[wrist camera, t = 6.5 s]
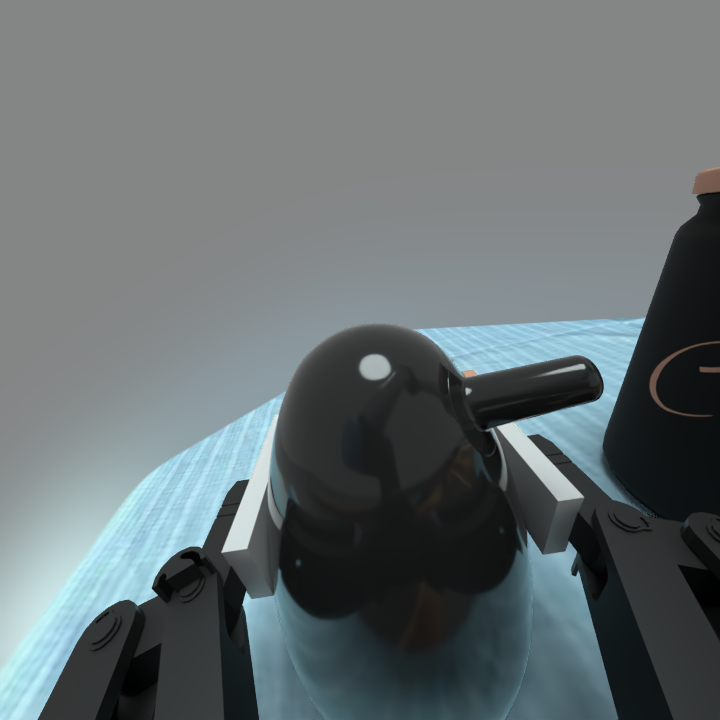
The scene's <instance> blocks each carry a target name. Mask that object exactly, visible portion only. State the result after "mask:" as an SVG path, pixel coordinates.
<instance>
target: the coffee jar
mask: <svg viewBox="0 0 720 720" xmlns="http://www.w3.org/2000/svg"><path fill="white" fill-rule="evenodd" d="M692 193H693V194H700V195H698V196H697V199H698V201H699V203H700V204H701V205H700V208H699V210H698V213H697V214H696V215H695V216H694V217H692V218H691V219H690V220H689V221H687V222H686V223H685V224H683V225H682V226H681V227H680V228H679V230H678V231H677V233H676V234H675V237H674V239H673V242H672V245H671V248H670V251H669V254H668V256H667V259H666V262H665V265H664V268H663V271H662V273H661V276H660V279H659V282H658V285H657V287H656V290H655V293H654V296H653V299H652V302H651V304H650V307H649V310H648V313H647V316H646V319H645V322H644V324H643V327H642V330H641V333H640V336H639V339H638V341H637V344H636V347H635V350H634V353H633V356H632V358H631V361H630V364H629V367H628V370H627V373H626V375H625V378H624V381H623V384H622V387H621V390H620V392H619V395H618V398H617V401H616V404H615V407H614V409H613V412H612V415H611V418H610V421H609V424H608V426H607V429H606V432H605V436H604V442H603V449H604V452H605V455H606V457H607V459H608V461H609V464H610V466H611V468H612V470H613V471H614V472H615V474H616V476H617V478H618V479H619V481H620V482H621V483H622V484H623V485H624V486H625V487H626V488H627V489H628V491H629V492H630V493H631V494H632V495H633V496H634V497H635V498H636V499H637V500H638V501H640V502H641V503H642V504H644V505H645V506H646V507H647V508H649V509H650V510H651V511H653V512H654V513H655V514H656V515H658V516H659V517H660V518H662V519H665V520H672V521H678V522H685V521H686V519H687V518H688V517H689V516H690V515H691V514H692V513H698V512H704V513H709V514H715V515H717V516H720V167H717V168H713V169H708V170H706V171H703V172H701V173H699V174H698V175H697V176H696V179H695V183H694V188H693V191H692ZM703 193H705V194H703Z"/></svg>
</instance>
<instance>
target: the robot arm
mask: <svg viewBox="0 0 720 720" xmlns="http://www.w3.org/2000/svg"><path fill="white" fill-rule="evenodd" d="M278 415H279V414H275V416H274V418H273V421H272V424H271V426H270V429H269V431H268V434H267V436H266V439H265V442H264V444H263V447H262V449H261V452H260V454H259V457H258V460H257V462H256V465H255V467H254V470H253V473H252V475H251V478H250V479H249V480H242V481H237V482H236V483H235V484H234V486H233V487H232V488H231V489H230V490H229V492H228V493H227V495H226V497H225V499H224V501H223V504H222V508H220V510H219V512H218V515H217V519H215V521H214V523H213V525H212V528H211V530H210V532H209V534H208V536H207V539H206V541H205V543H204V545H203V547H202V549H201V548H200V547H189V548H186V549H184V550H181V551H180V552H178V553H177V554H175V555H174V556H173V557H171V558H170V559H169V560H168V561H167V562H166V563H165V565H164V566H163V567H162V568H161V570H160V571H159V573H158V574H157V576H156V577H155V580H154V583H153V586H152V589H153V590H154V591H155V592H156V594H157V595H158V596H157V597H155V598H153V599H151V600H149V601H147V602H145V603H143V604H141V605H139V606H137V605H136V604H135V603H134V602H132V601H130V600H124V601H119V602H117V603H115V604H114V605H112V606H110V607H108V608H107V609H106V610H105V611H103V612H102V613H101V614H100V615H98V616H97V617H96V618H95V619H94V620H93V622H92V623H91V624H90V625H89V626H88V627H87V628H86V629H85V631H84V633H83V634H82V636H81V637H80V639H79V640H78V642H77V644H76V646H75V648H74V650H73V651H72V653H71V655H70V657H69V659H68V661H67V663H66V665H65V667H64V669H63V671H62V673H61V675H60V677H59V679H58V681H57V683H56V685H55V687H54V689H53V691H52V693H51V695H50V697H49V699H48V701H47V702H46V704H45V706H44V708H43V710H42V712H41V714H40V716H39V718H38V720H259V716H258V708H257V700H256V693H255V685H254V677H253V669H252V662H251V654H250V646H249V638H248V630H247V623H246V615H245V611H244V608H243V606H242V604H243V600H244V597H245V593H246V591H247V593H248V594H249V596H250V597H251V599H254V598H261V597H267V596H274V592H273V586H272V580H271V573H270V565H269V555H268V541H267V489H268V475H269V465H270V457H271V450H272V443H273V437H274V432H275V427H276V423H277V419H278ZM493 429H494V431H495V433H496V435H497V437H498V439H499V441H500V444H501V446H502V448H503V451H504V453H505V456H506V458H507V461H508V464H509V467H510V469H511V472H512V475H513V478H514V482H515V485H516V488H517V492H518V495H519V499H520V503H521V507H522V511H523V515H524V520H525V525H526V529H527V531H528V532H529V534H530V536H531V537H532V539H533V540H534V542H535V543H536V545H537V546H538V548H539V550H540V551H541V553H542V554H543V555H544V554H551V553H557V552H564V551H565V550H566V547H567V545H568V542H569V541H570V543H571V544H572V545H573V547H574V548H575V549H576V551H577V555H576V558H575V560H574V563H573V565H572V568H571V571H572V575H573V576H576V575H577V572H578V570H579V573H580V577H581V580H582V584H583V588H584V592H585V595H586V599H587V603H588V607H589V610H590V614H591V618H592V622H593V625H594V629H595V633H596V637H597V640H598V644H599V648H600V652H601V655H602V659H603V663H604V667H605V670H606V674H607V678H608V682H609V685H610V689H611V693H612V697H613V700H614V704H615V708H616V712H617V715H618V719H619V720H720V516H717V515H715V514H709V513H704V512H698V513H692V514H691V515H690V516H689V517H688V518H687V519H686V521H685V522H678V521H672V520H665V519H658V518H652V517H647V516H645V515H644V514H643V513H641V512H640V511H639V510H637V509H635V508H633V507H631V506H629V505H627V504H624V503H621V502H618V501H613V500H612V499H611V498H610V497H609V496H608V495H606V494H605V493H604V492H603V491H602V490H601V489H600V488H599V487H598V486H597V485H596V484H595V483H594V482H593V481H592V480H591V479H590V478H589V477H588V476H587V475H586V474H585V473H584V472H583V471H581V470H580V469H579V468H578V467H577V466H576V465H575V464H574V463H572V461H571V460H570V459H569V458H568V457H567V456H566V455H564V454H563V452H562V451H561V450H560V449H559V448H558V447H556V446H555V445H554V444H553V443H552V442H551V441H549V440H547V439H545V438H544V437H542V436H540V435H538V434H537V435H530V436H526V435H525V434H524V433H523V432H522V431H521V430H520V429H519V428H518V426H517V425H516V424H515V423H514V422H513V423H509V424H505V425H501V426H497V427H494V428H493Z"/></svg>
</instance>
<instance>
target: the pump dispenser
mask: <svg viewBox="0 0 720 720" xmlns="http://www.w3.org/2000/svg"><path fill="white" fill-rule="evenodd" d="M603 389H604V385H603V380H602V377H601V374H600V372H599V370H598V369H597V367H596V366H595V364H594V363H593V362H592V361H590V360H589V359H587V358H586V357H583V356H579V355H575V356H569V357H564V358H559V359H555V360H550V361H545V362H540V363H535V364H530V365H525V366H521V367H516V368H511V369H506V370H501V371H496V372H491V373H486V374H481V375H476V376H471V377H464V375H463V374H462V373H461V372H460V370H459V369H458V368H457V366H456V365H455V364H454V363H453V362H452V360H451V359H450V358H449V357H448V356H447V355H446V354H445V352H444V351H443V350H442V349H441V348H440V347H439V346H438V345H437V344H435V343H434V342H433V341H432V340H430V339H429V338H428V337H426V336H424V335H422V334H421V333H418V332H416V331H414V330H412V329H408V328H405V327H402V326H398V325H393V324H385V323H369V324H361V325H357V326H352V327H349V328H346V329H344V330H341V331H339V332H337V333H335V334H333V335H331V336H329V337H328V338H326V339H325V340H323V341H322V342H320V343H319V344H318V345H317V346H316V347H314V348H313V349H312V350H311V351H310V352H309V353H308V354H307V355H306V356H305V358H304V359H303V360H302V362H301V363H300V364H299V366H298V367H297V369H296V371H295V373H294V375H293V377H292V379H291V381H290V383H289V386H288V388H287V391H286V393H285V396H284V399H283V402H282V405H281V408H280V412H279V415H278V419H277V423H276V427H275V432H274V437H273V443H272V450H271V457H270V465H269V475H268V489H267V541H268V555H269V565H270V573H271V580H272V586H273V592H274V597H275V602H276V607H277V611H278V616H279V620H280V624H281V628H282V632H283V636H284V639H285V643H286V646H287V649H288V652H289V655H290V658H291V661H292V663H293V666H294V668H295V671H296V673H297V675H298V677H299V679H300V682H301V684H302V685H303V687H304V689H305V691H306V693H307V695H308V696H309V698H310V700H311V701H312V703H313V704H314V706H315V707H316V709H317V710H318V712H319V713H320V715H321V716H322V717H323V718H324V720H504V719H505V718H506V716H507V715H508V713H509V711H510V709H511V707H512V705H513V703H514V701H515V699H516V697H517V694H518V692H519V689H520V686H521V683H522V680H523V677H524V674H525V670H526V666H527V662H528V657H529V651H530V644H531V636H532V620H533V590H532V570H531V558H530V549H529V542H528V536H527V530H526V525H525V520H524V515H523V511H522V507H521V503H520V499H519V495H518V492H517V488H516V485H515V482H514V478H513V475H512V472H511V469H510V467H509V464H508V461H507V458H506V456H505V453H504V451H503V448H502V446H501V444H500V441H499V439H498V437H497V435H496V433H495V431H494V429H493V428H494V427H497V426H501V425H505V424H509V423H513V422H516V421H520V420H524V419H528V418H532V417H536V416H540V415H544V414H548V413H551V412H555V411H559V410H563V409H567V408H571V407H575V406H579V405H583V404H586V403H590V402H594V401H596V400H598V399H599V398H600V397H601V395H602V393H603Z"/></svg>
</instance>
